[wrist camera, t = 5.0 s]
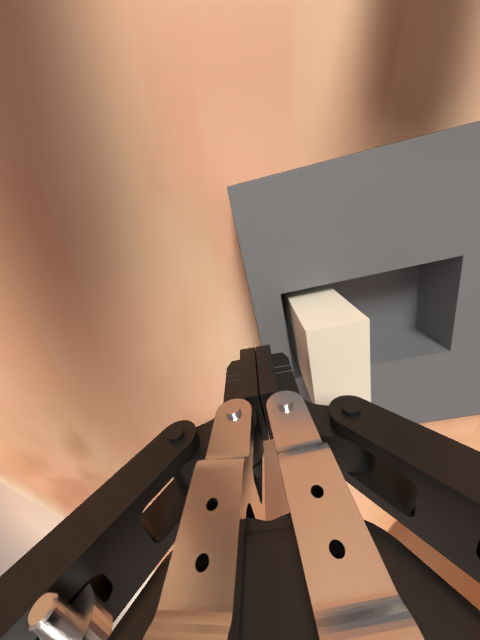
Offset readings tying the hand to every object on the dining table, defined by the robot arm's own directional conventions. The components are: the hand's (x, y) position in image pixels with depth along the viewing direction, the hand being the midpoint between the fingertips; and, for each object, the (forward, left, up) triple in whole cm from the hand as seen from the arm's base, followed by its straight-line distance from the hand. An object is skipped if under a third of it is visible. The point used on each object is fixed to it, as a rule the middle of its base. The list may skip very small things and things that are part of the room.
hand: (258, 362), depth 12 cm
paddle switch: (+3, 0, -4) cm, 5 cm away
